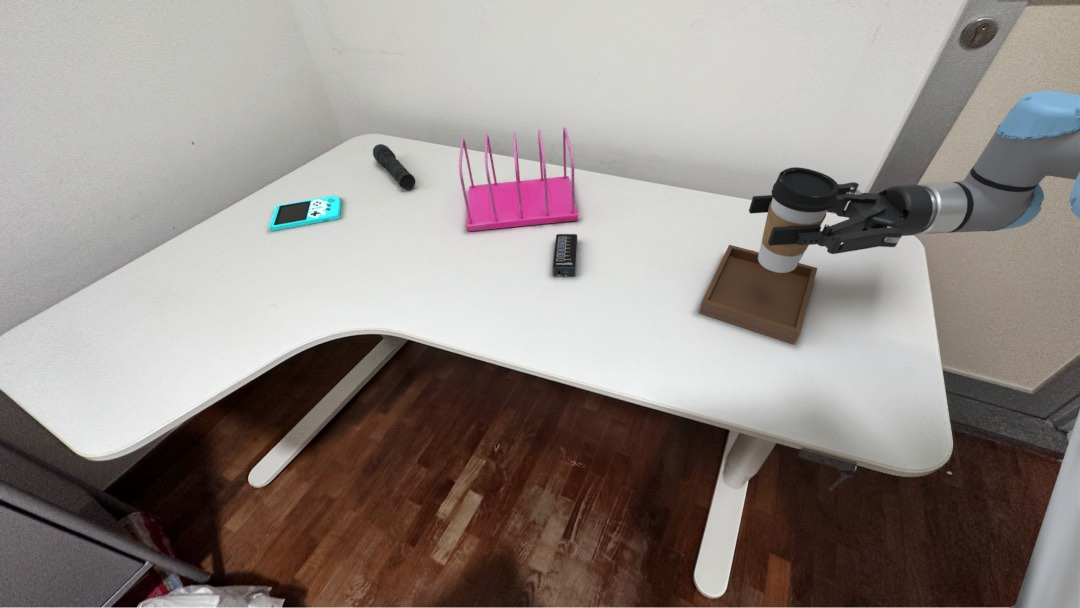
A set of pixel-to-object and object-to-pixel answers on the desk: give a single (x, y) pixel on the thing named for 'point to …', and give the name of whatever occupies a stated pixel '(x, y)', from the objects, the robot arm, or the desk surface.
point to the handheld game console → (305, 213)
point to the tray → (759, 295)
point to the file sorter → (519, 195)
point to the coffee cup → (795, 213)
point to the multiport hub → (565, 255)
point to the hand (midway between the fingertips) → (761, 220)
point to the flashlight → (393, 166)
